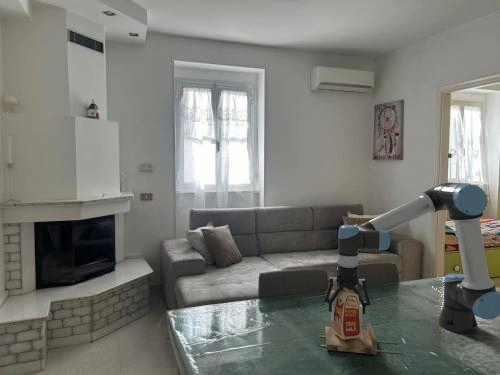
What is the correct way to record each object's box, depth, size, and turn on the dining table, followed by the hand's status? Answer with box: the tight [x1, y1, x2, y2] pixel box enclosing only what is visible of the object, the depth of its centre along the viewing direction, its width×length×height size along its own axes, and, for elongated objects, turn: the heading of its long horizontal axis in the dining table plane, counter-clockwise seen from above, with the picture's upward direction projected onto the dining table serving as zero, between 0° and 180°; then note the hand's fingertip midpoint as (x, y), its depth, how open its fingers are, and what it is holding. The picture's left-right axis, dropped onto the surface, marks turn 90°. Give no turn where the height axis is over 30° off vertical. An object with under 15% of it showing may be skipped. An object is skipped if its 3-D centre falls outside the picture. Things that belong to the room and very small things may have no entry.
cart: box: [324, 322, 378, 355], centre depth 145 cm, size 18×18×5 cm
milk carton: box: [331, 285, 362, 339], centre depth 144 cm, size 9×9×20 cm
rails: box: [319, 335, 403, 355], centre depth 144 cm, size 30×9×1 cm, turn 80°
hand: (346, 320), depth 145 cm, fingers closed on milk carton, 10 cm apart
